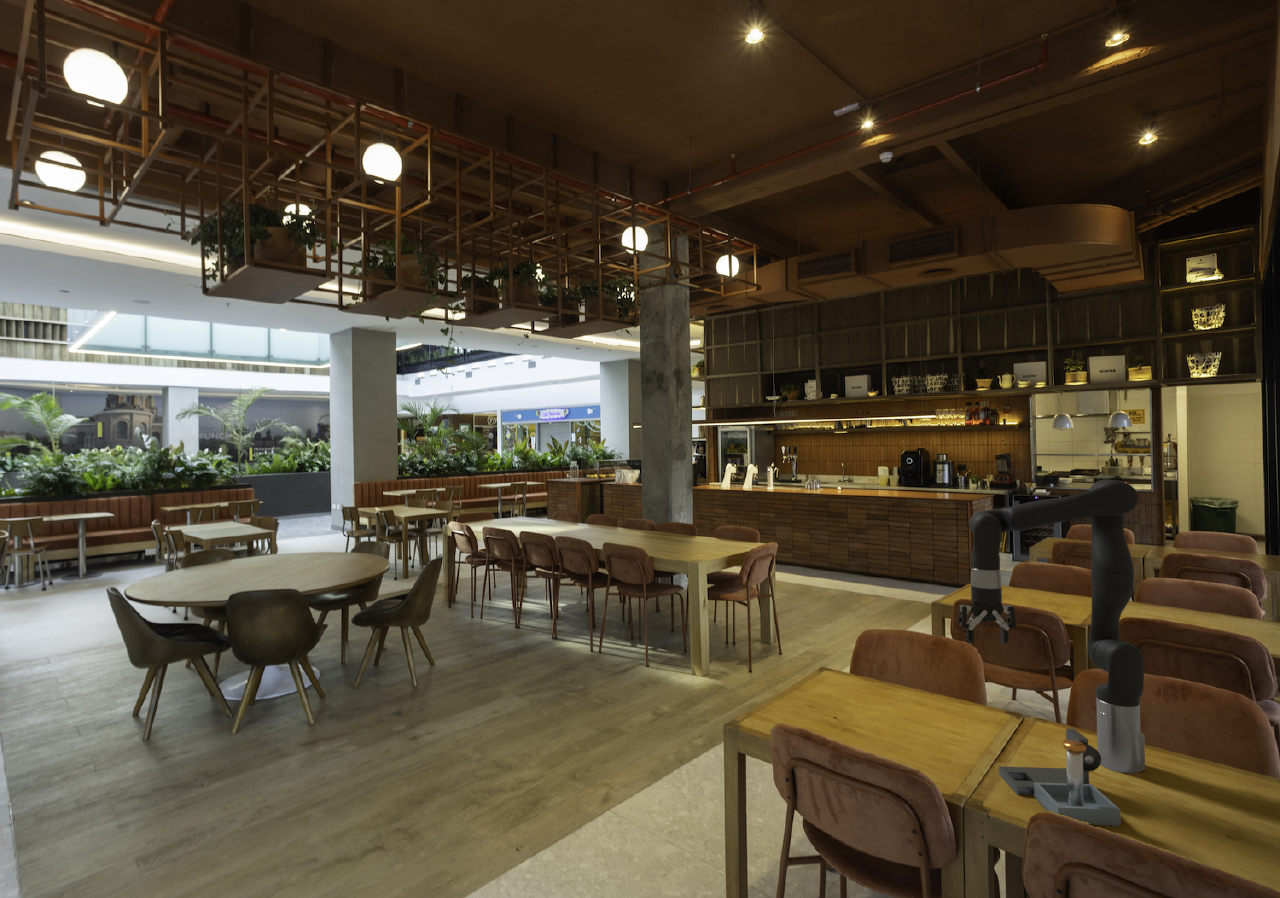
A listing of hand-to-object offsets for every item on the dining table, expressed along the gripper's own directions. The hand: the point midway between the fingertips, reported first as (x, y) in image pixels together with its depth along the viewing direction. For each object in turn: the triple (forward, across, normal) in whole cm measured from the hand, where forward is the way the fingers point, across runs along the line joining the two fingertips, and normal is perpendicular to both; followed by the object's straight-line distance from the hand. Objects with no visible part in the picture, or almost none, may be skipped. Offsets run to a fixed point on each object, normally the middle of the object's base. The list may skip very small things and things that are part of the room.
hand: (987, 642), depth 181 cm
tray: (+30, +7, -30) cm, 43 cm away
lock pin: (+30, +7, -30) cm, 42 cm away
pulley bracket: (+30, +6, -18) cm, 36 cm away
